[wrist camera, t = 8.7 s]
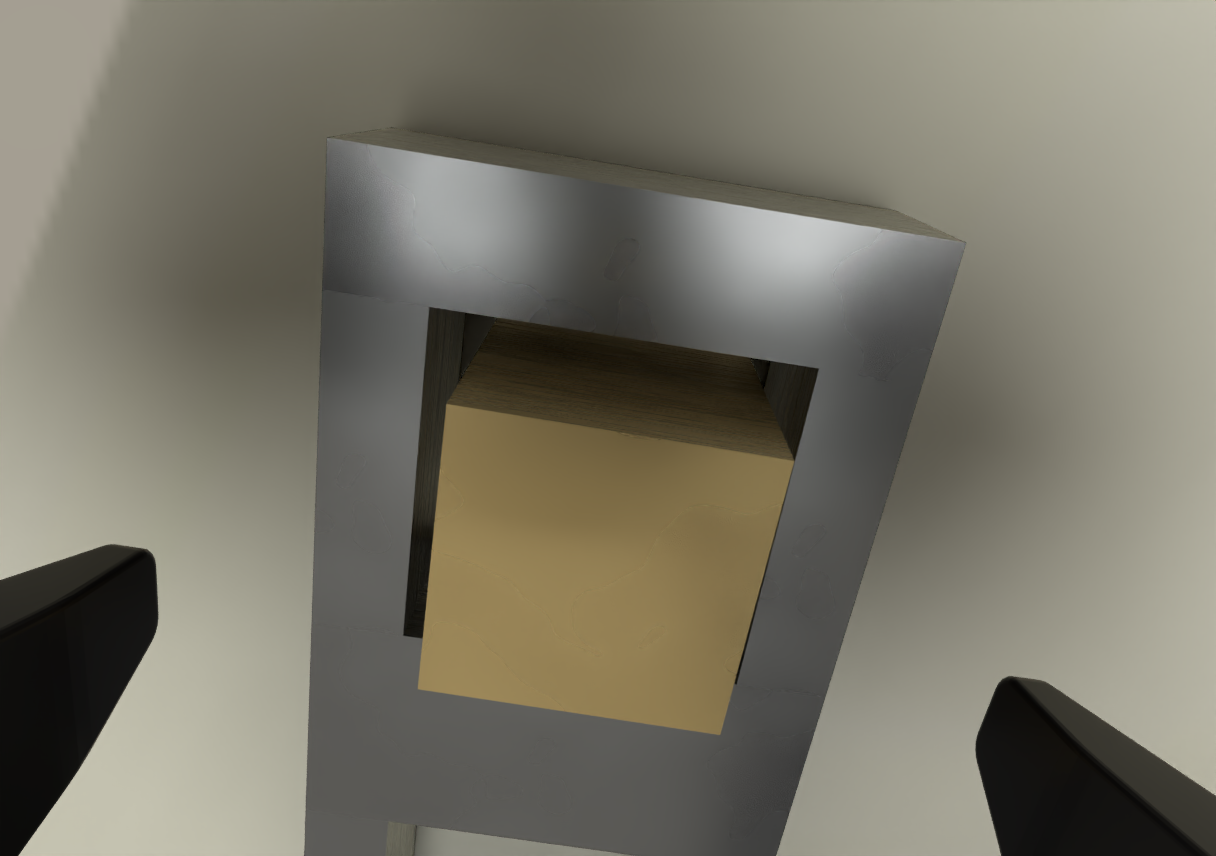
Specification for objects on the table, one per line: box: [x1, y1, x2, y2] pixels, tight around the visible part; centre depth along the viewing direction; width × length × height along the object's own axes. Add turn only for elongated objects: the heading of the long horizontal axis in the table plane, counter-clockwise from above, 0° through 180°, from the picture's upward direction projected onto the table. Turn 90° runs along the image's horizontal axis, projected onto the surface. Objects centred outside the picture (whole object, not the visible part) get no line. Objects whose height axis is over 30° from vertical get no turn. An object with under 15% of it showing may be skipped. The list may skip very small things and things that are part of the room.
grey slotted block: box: [304, 127, 966, 856], centre depth 15 cm, size 8×18×3 cm, turn 171°
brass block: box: [418, 318, 794, 735], centre depth 13 cm, size 4×4×5 cm
